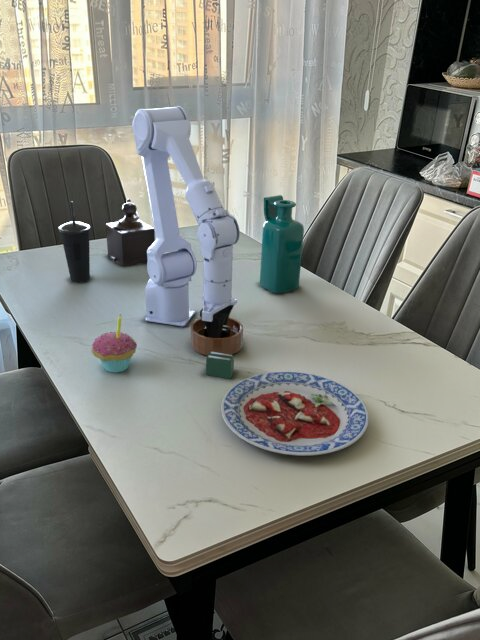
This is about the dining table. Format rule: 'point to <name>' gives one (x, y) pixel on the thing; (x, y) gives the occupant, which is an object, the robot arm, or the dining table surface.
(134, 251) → the dark brown knobbed box
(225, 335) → the black clip
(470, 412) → the dining table surface
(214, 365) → the green clip
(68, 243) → the drinking cup
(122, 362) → the cupcake
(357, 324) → the dining table surface
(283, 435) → the ceramic plate
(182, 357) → the dining table surface
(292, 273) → the teal green bottle
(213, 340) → the bowl
